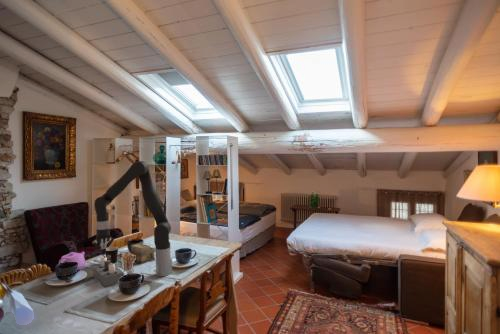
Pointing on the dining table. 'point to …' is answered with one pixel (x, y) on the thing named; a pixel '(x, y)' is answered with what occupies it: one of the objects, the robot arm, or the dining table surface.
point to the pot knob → (107, 265)
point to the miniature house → (143, 253)
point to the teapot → (74, 259)
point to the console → (107, 276)
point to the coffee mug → (112, 254)
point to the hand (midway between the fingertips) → (103, 254)
